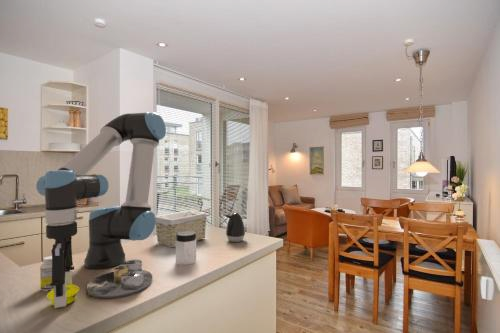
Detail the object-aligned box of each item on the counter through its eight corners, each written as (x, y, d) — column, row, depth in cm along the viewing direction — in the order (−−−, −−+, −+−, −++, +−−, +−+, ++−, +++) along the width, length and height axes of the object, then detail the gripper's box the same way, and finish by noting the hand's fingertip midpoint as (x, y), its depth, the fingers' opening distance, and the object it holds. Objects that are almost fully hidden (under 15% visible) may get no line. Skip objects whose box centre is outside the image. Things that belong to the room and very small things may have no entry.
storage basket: (171, 249, 132) (171, 219, 132) (153, 243, 142) (152, 215, 142) (208, 239, 151) (208, 212, 151) (189, 234, 161) (189, 209, 161)
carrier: (72, 292, 87) (72, 273, 87) (122, 270, 106) (122, 253, 106) (120, 303, 80) (120, 282, 80) (164, 277, 99) (164, 260, 99)
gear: (72, 291, 86) (42, 302, 79) (72, 279, 86) (41, 289, 79) (84, 298, 81) (53, 311, 75) (84, 286, 81) (53, 297, 75)
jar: (179, 266, 109) (179, 236, 109) (172, 260, 116) (172, 232, 116) (199, 262, 114) (199, 233, 114) (192, 256, 121) (192, 229, 121)
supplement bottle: (54, 283, 94) (53, 253, 94) (65, 285, 92) (64, 255, 92) (36, 290, 89) (36, 259, 89) (47, 293, 87) (47, 261, 87)
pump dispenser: (223, 239, 150) (223, 211, 150) (242, 237, 153) (242, 210, 153) (228, 244, 140) (227, 214, 140) (247, 242, 143) (247, 213, 143)
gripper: (70, 229, 72) (72, 314, 72) (82, 215, 91) (83, 282, 91) (35, 232, 69) (37, 321, 69) (54, 217, 88) (56, 286, 88)
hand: (63, 299), depth 80 cm, fingers closed on gear, 8 cm apart
